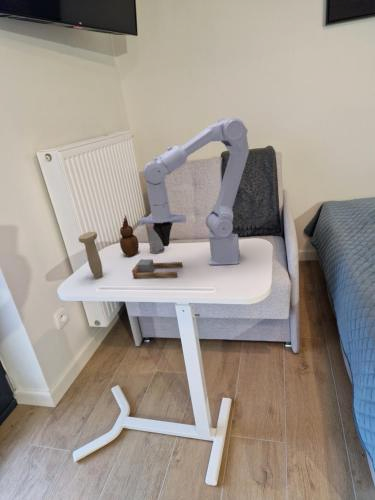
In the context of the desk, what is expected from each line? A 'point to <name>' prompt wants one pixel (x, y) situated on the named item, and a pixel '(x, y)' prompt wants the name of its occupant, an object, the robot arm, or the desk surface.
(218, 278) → the desk surface
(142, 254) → the desk surface
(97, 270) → the handle
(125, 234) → the wooden figurine
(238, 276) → the desk surface
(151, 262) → the grey cube
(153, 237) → the energy drink
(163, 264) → the channel
